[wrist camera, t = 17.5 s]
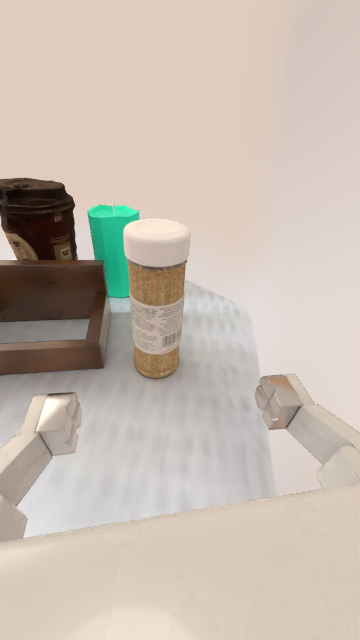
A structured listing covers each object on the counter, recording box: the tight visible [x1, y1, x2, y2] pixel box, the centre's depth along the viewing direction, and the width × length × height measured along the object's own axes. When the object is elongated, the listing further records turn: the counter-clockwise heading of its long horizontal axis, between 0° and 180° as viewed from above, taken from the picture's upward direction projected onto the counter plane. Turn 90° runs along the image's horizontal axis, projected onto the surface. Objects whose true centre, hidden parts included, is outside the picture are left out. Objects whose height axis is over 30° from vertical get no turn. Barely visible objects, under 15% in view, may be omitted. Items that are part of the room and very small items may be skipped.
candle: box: [88, 196, 139, 298], centre depth 32 cm, size 6×6×12 cm
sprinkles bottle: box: [123, 219, 190, 378], centre depth 21 cm, size 5×5×14 cm
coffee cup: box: [0, 178, 78, 260], centre depth 31 cm, size 9×8×13 cm
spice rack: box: [0, 260, 111, 375], centre depth 24 cm, size 14×9×7 cm, turn 98°
